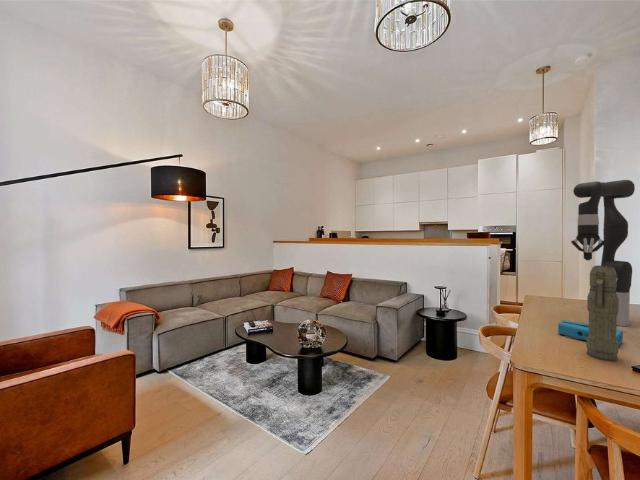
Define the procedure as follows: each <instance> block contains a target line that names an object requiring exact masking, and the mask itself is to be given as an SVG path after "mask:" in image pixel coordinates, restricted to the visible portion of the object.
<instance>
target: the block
mask: <svg viewBox="0 0 640 480" xmlns="http://www.w3.org/2000/svg"><path fill="white" fill-rule="evenodd" d="M557 325H558V329H557V331H558V332H557V333H558V334H559V335H564V336H565V335H567V336H570V337H574V338H578V339H577V340H579V339H583V340H582V341H586V340H587V337H588V332H589V323H584V322H580V321H579V322H578V321H571V320H562V321H560V322H559V323H558V324H557ZM623 335H624V331H623V329H618V328H616V340H617V343H618V347H619V346H620V345H621V344H622V342H623V341H624V337H623Z"/></svg>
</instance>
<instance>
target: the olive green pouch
mask: <svg viewBox="0 0 640 480" xmlns="http://www.w3.org/2000/svg"><path fill="white" fill-rule="evenodd" d="M589 286H590V287H589V292H588V295H587V302H586V303H587V305H586V307H587V308H586V309H587V311H588V324H589V332H588V337H587V341H586V354H587V356H590V357H592V358H594V359H598V360H602V361H609V362H610V361H612V362H615V361H617V360H618V353H619V346H618V343H617V340H616V329H617V326H618V325H617V314H618V312H619V299H618V296H617V291H616V288H617V274H616V271H615V269H614V268H612V267H611V266H601V265H594V266H592V268H591V270H590V271H589Z"/></svg>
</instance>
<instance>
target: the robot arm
mask: <svg viewBox="0 0 640 480" xmlns="http://www.w3.org/2000/svg"><path fill="white" fill-rule="evenodd" d="M635 188H636V187H635V183H634V182H633V181H632V180H631V179H621V180H612V181H607V182H603V181H602V182H601V181H590V182H580V183H578V184H577V185H575V186H574V188H573V195H574V196H575V197H576V198H579V199H582V198H584V199H585V198H589V200H587V201H584V202H581V203H579V204H578V209H577V210H578V214H577V215H578V216H577V235H576V237H575V239H573V240H570V243H571V245H573V246H574V247H575V248H576V250H578V251H579V252H582V254H583V259H584V260H585V261H591V260H592V259H593V253H594V252H598V251H599V250H600V249H601V248H602V256H601V263H600V266H611V267H612V268H614V269H615V271H616V274H617V288H616V291H617V296H618V299H619V312H618V314H617V326H619V327H629V326H630V297H631V296H630V295H631V292H630V290H631V288H632V279H633V278H632V277H633V266H632V264H631V263H630V262H628V261H624V260H615V257H616V252H617V250H618V249H619V248H620V247H621V245H622V244H624V243H625V241H626V240H627V238H628V236H629V223H628V221H627V219H626V218H625V216H624V215H623V214H622V212H620V210H618V208H617V207H616V204H615V199H624V198H629V197H632V196H633V195H634V193H635ZM602 197H603V199H602V200H603V230H602V232H603V233H602V234H603V239H602V238H601V237H600V235H599V234H600V231H599V230H600V229H599V228H600V227H599V224H600V219H599V204H600V200H601V198H602ZM578 242H579V244H581V245H579V244H578ZM596 244H597V245H596ZM594 245H596V246H595V247H594ZM581 246H582V247H581Z"/></svg>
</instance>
